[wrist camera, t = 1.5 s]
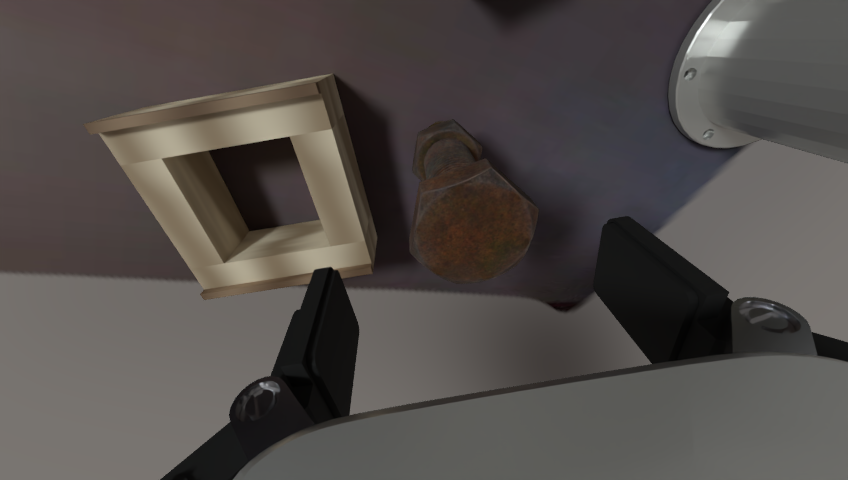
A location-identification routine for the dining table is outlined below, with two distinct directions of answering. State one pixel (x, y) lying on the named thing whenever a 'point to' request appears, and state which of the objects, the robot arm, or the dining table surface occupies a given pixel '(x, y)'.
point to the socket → (211, 200)
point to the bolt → (466, 209)
